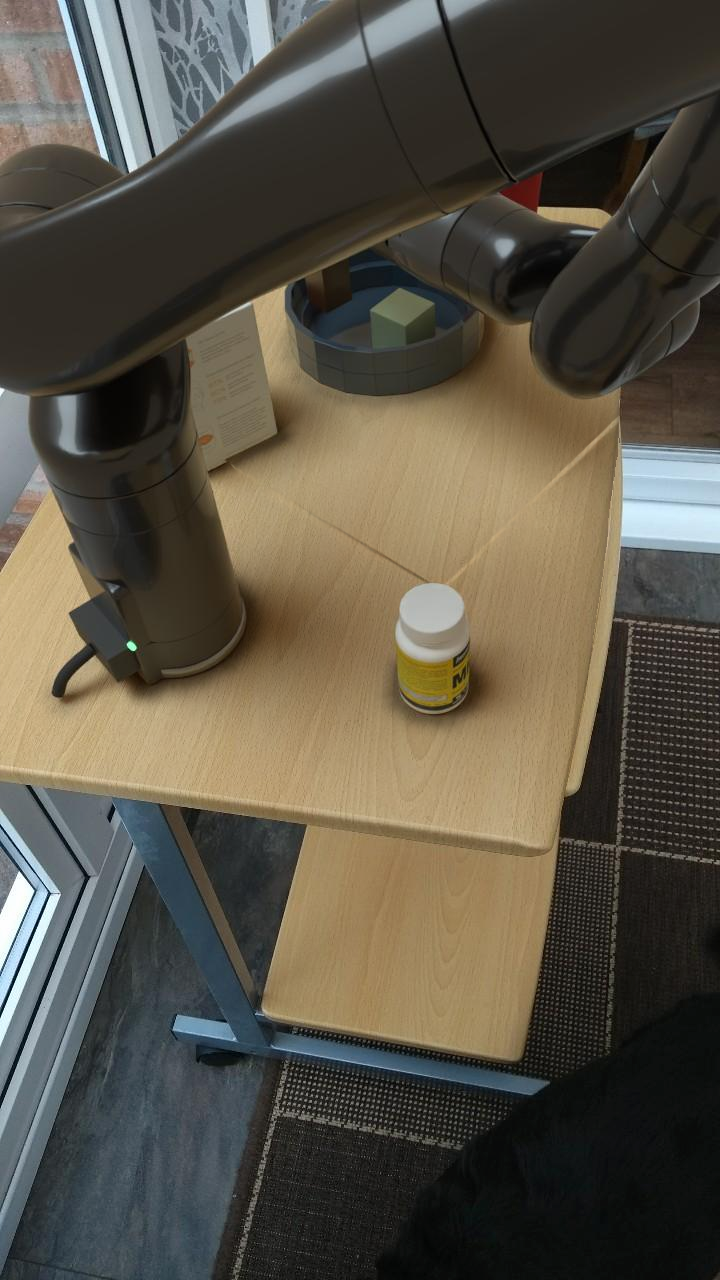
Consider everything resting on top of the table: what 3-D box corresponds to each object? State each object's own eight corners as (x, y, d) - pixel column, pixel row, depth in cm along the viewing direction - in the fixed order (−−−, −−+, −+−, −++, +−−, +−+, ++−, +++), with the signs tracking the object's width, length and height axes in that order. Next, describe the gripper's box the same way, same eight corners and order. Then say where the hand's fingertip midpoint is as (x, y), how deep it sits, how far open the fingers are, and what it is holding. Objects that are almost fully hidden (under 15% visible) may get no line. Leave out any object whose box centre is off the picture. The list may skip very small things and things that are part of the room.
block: (407, 365, 88) (405, 326, 85) (372, 348, 90) (369, 309, 87) (436, 342, 90) (435, 302, 87) (401, 326, 92) (399, 287, 89)
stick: (327, 313, 87) (305, 139, 75) (307, 300, 89) (282, 127, 77) (352, 299, 88) (334, 125, 76) (333, 286, 90) (312, 113, 78)
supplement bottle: (463, 720, 67) (464, 642, 60) (392, 711, 67) (385, 633, 61) (473, 662, 69) (475, 581, 63) (405, 653, 70) (400, 573, 64)
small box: (243, 399, 88) (214, 264, 78) (280, 438, 85) (255, 302, 74) (160, 438, 86) (119, 304, 76) (194, 480, 82) (156, 345, 72)
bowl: (373, 428, 85) (368, 380, 81) (254, 338, 93) (245, 290, 89) (522, 339, 90) (525, 289, 86) (398, 261, 99) (395, 213, 95)
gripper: (510, 130, 70) (354, 58, 79) (351, 211, 65) (205, 124, 74) (507, 231, 76) (362, 153, 85) (361, 312, 71) (224, 220, 80)
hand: (289, 140), depth 80 cm, fingers closed on stick, 3 cm apart
